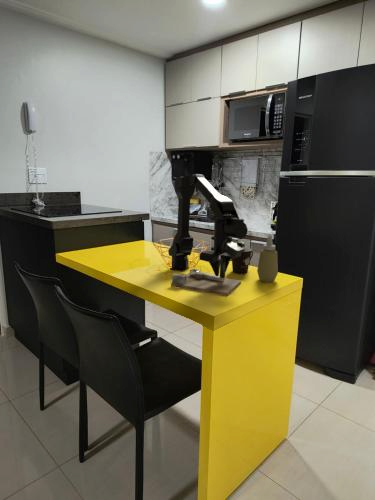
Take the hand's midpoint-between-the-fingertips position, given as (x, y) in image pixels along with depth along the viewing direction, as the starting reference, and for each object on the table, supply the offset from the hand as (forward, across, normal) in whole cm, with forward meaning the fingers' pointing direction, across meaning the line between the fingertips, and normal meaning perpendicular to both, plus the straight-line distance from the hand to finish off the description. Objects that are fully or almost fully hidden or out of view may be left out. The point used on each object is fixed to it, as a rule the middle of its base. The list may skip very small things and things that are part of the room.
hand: (220, 274), depth 127 cm
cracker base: (+4, -4, +4) cm, 6 cm away
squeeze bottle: (+5, +18, -10) cm, 21 cm away
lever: (+3, -1, +6) cm, 7 cm away
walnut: (+3, -9, +11) cm, 14 cm away
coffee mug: (+5, +22, +4) cm, 23 cm away
